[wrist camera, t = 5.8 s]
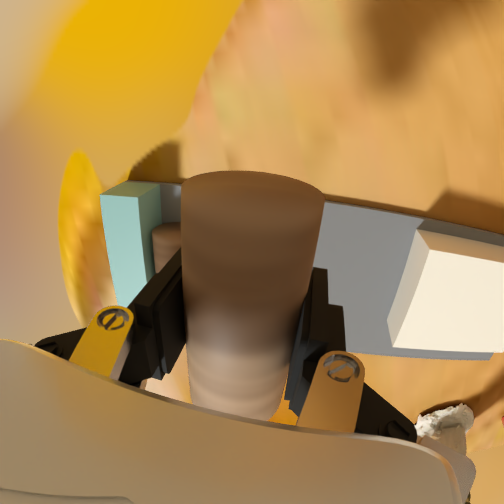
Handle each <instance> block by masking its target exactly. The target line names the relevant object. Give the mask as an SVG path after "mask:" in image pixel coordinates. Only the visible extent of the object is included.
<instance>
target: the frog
mask: <svg viewBox="0 0 504 504" xmlns="http://www.w3.org/2000/svg"><path fill="white" fill-rule="evenodd" d="M473 423H474V415H473V412H472V410H471V409H470V408H469V407H467V405H463V403H461V404H459V406H456V408H453V406H450V407H448V408H446V409H444V410H438V411H435V412H433V413H431V414H427V415H425V416H423V417H421V414H420V415H419V416H418V421H417V424H416V425H414V426H415V428H416V430H417V435H419V436H421V437H423V436H424V435H427V436H429V437H430V438H432V439H434V440H436V441H438V442H440V443H442V444H444V445H445V446H447V447H449V448H451V449H453V450H455V451H457V452H459V453H461V454H463V455H465V456H466V437H465V436H466V435H465V434H466V433H467V431H468V430H469V429H470V428H471V427H472V426H473ZM469 501H470V492H469V494H468V497H467V499H466V502H465V504H470V502H469Z"/></svg>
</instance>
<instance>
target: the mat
mask: <svg viewBox="0 0 504 504" xmlns="http://www.w3.org/2000/svg"><path fill="white" fill-rule="evenodd" d="M125 182H134V183H150V184H160V198H161V217H162V224H164V223H169V222H181V185H182V184H177V183H163V182H148V181H132V180H127V181H125ZM416 229H419V230H425V231H430V232H435V233H440V234H446V235H451V236H456V237H460V238H465V239H470V240H475V241H480V242H484V243H489V244H493V245H498V246H502V247H504V235H502V234H498V233H494V232H490V231H485V230H481V229H477V228H473V227H468V226H464V225H459V224H455V223H450V222H445V221H441V220H436V219H431V218H426V217H421V216H416V215H411V214H405V213H400V212H394V211H389V210H383V209H378V208H372V207H366V206H360V205H354V204H347V203H341V202H334V201H328V200H325V204H324V210H323V215H322V221H321V226H320V232H319V237H318V242H317V248H316V253H315V258H314V263H313V267H318V268H324V269H328V297H329V304H334V305H340V306H343V311H344V324H345V340H346V352H353V353H363V354H373V355H384V356H396V357H410V358H426V359H448V360H490V358H491V356H492V355H493V353H494V352H461V351H440V350H424V349H410V348H398V347H392V342H391V337H390V332H389V328H388V323H387V318H388V315H389V313H390V310H391V307H392V304H393V302H394V299H395V296H396V293H397V290H398V287H399V284H400V281H401V278H402V275H403V272H404V269H405V266H406V263H407V259H408V256H409V253H410V249H411V246H412V242H413V239H414V235H415V231H416ZM312 269H313V268H312Z"/></svg>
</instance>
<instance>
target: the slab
mask: <svg viewBox="0 0 504 504" xmlns="http://www.w3.org/2000/svg"><path fill="white" fill-rule="evenodd" d="M387 323H388V328H389V332H390V337H391V342H392V347H398V348H410V349H424V350H440V351H461V352H503V351H504V247H502V246H498V245H493V244H489V243H484V242H480V241H475V240H470V239H465V238H460V237H456V236H451V235H446V234H440V233H435V232H430V231H425V230H419V229H416V231H415V235H414V239H413V242H412V246H411V249H410V253H409V256H408V259H407V263H406V266H405V269H404V272H403V275H402V278H401V281H400V284H399V287H398V290H397V293H396V296H395V299H394V302H393V304H392V307H391V310H390V313H389V315H388V318H387Z"/></svg>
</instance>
